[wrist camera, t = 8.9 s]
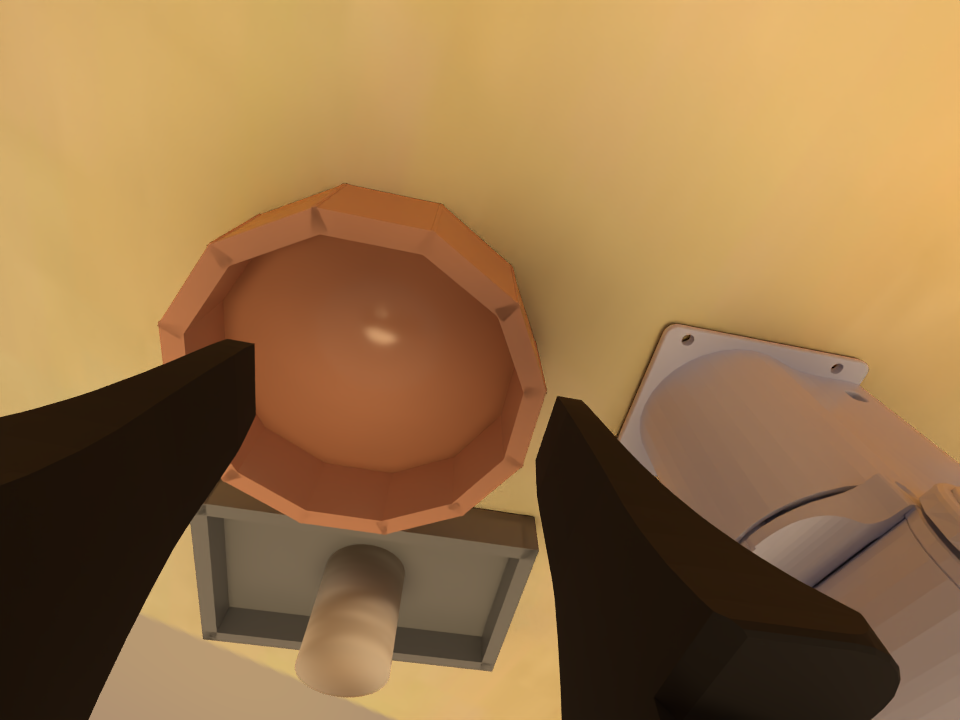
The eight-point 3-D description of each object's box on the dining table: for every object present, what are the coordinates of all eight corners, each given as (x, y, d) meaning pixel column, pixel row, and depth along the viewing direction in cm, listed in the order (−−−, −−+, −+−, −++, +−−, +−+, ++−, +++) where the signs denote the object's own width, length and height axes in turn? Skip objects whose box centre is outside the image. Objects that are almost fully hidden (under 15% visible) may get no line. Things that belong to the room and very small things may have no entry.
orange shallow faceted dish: (569, 229, 19) (589, 262, 16) (493, 487, 26) (495, 550, 22) (205, 153, 18) (138, 169, 14) (222, 446, 24) (179, 506, 21)
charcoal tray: (534, 516, 27) (538, 550, 25) (491, 636, 32) (491, 671, 30) (210, 469, 25) (187, 501, 23) (220, 603, 30) (203, 639, 28)
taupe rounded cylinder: (399, 543, 27) (383, 642, 22) (408, 594, 29) (395, 696, 24) (319, 545, 27) (285, 645, 22) (334, 596, 29) (305, 698, 24)
